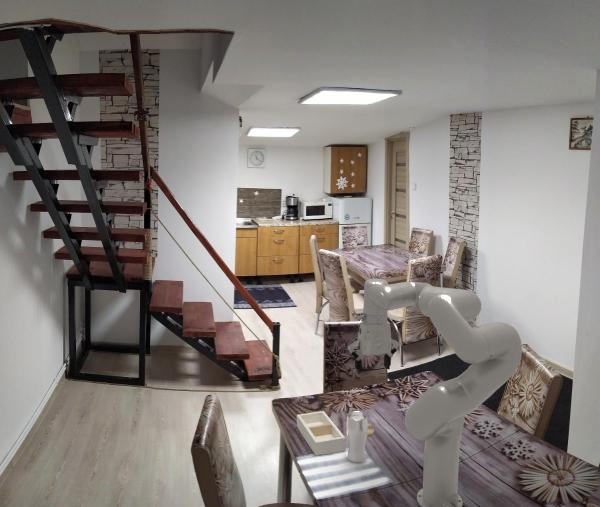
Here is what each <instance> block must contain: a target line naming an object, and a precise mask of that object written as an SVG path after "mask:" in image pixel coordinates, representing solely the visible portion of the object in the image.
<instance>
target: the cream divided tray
mask: <svg viewBox="0 0 600 507" xmlns="http://www.w3.org/2000/svg"><path fill="white" fill-rule="evenodd" d="M296 428H297V429H298V431H299V432H300V434H301V435H302V437H303V439H304V440H305V441H306V443H307V444H308V447H309V448H310V449H311V451H312V453H313V454H314V455H315V456H323V455H328V454H334V453H339V452H346V436H345V435H344V434H343V433H342V432H341V431H340V429H339V428H338V427H337V425H336V424H335V423H334V422H333V421H332V420H331V418H330V417H329V416H328V414H327V413H326V412H325V411H324V410H321V411H320V410H319V411H314V412H308V413H301V414H296Z"/></svg>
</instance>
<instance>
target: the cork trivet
mask: <svg viewBox="0 0 600 507" xmlns="http://www.w3.org/2000/svg"><path fill="white" fill-rule="evenodd" d="M374 433H375V427H374V425H373V424H371V423H370V422H368V432H367V437H370V436H372V435H373V434H374Z"/></svg>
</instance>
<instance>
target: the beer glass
mask: <svg viewBox="0 0 600 507" xmlns="http://www.w3.org/2000/svg"><path fill="white" fill-rule="evenodd" d="M368 423H369V422H368V414H367V413H366V412H365V411H364V412H363V411H362V410H361V411H359V410H353V411H349V412H348V413H347V414H346V424H345V425H346V426H345V429H346V430H345V431H346V432H345V433H346V440H347V444H348V450H347V457H346V459H347V460H348V461H349V462H350V463H354V464H360V463H363V462H365V461H366V460H367V457H366V456H367V455H366V452H365V451H366V449H365V448H366V442H367V438H368V436H367V432H368Z"/></svg>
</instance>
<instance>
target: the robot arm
mask: <svg viewBox="0 0 600 507" xmlns="http://www.w3.org/2000/svg"><path fill="white" fill-rule="evenodd" d="M406 307H407V308H408V307H418V308H419V311H420V313H421V314H422V315H424V316H425V317H428V318H429V320H430V322H431V323H432V324H433V326H434V328H435V329H436V330H437V332H438V333H439V335H441V337H442V338H443V340H444V342H446V343H447V344H448V346H449V348H451V350H452V351H453V352H454V354H455V355H456V356H457V357H458V358H459V359H460V360H462V362H464V363H467V364H470V365H469V366H468V367H467V369H465V370H464V371H463V372H462V373H461V374H460V375H459V376H457V377H454V378H451V379H448V380H444V381H442V382H439V383H436V384H434V385H432V386H431V387H429V388H428V389H426V391H424V392H422V394H421V395H420V396H419V397H418V398H417V399H416V400H415V401H414V402H413V403H412V404H411V405H410V406H409V407H408V409H407V411H406V413H405V416H404V426H405V428H406V431H407V433H408V434H409V435H410V436H411V437H412V438H413V439H416V440H418V441H420V442H421V441H422V442H423V441H424V448H423V449H424V450H423V471H422V472H423V474H422V477H423V478H422V488H420V489H419V491H418V492H417V493H416V502H417V503H418V505H419V506H420V507H463V503H464V502H463V499H462V497H461V496H460V495H459V494H458V485H459V484H458V483H459V469H460V468H459V464H460V448H461V446H460V445H461V438H462V432H463V429H464V425H465V419H466V418H465V417H466V415H469V414H471V413H473V412H474V411H475V410H477V408H479V407H480V405H482V404H483V403H484V402H486V401H487V400H488V399H489V398H490V397H492V396H493V394H494V393H495V392H497V391H498V390H499V389H500V388H501V387H502V386H503V385H504V384H505V383H506V382H507V381H509V379H510V378H511V377H512V376H513V375H514V374H515V372H516V371H517V369H518V368H519V365H520V363H521V359H522V354H523V344H522V340H521V336H520V334H519V332H518V331H517V329H516V328H515V327H514V326H512V325H511V324H509V323H505V322H499V321H498V322H497V321H496V322H494V321H493V322H489V323H486V324H485V323H484V324H480V325H477V326H473V327H472V326H471V324H469V322H472V321H473V320H475V319H476V318H477V317H478V316H479V314H480V313H481V311H482V302H481V299H480V298H479V296H478V295H477V294H476V293H474V292H473V291H471V290H467V289H463V288H462V289H461V288H460V289H459V288H451V287H443V286H434V285H431V284H430V283H429V282H418V281H404V282H398V283H397V282H396V283H391V284H389V283H388V281H387V280H386V279H382V278H377V277H375V278H374V277H373V278H368V279H366V280H365V282H364V287H363V312H362V314H361V315H359V316H358V319H359V321H360V320H361V321H360V325H359V329H358V334H357V340H356V341H354V342H352V343H350V344H349V345H348V346H347V349H348V352H349V353H350V355H351V356H352V357H354V368H355V370H357V372H358V373H362V368H363V360H362V359H363V357H364V356H375V355H377V356H378V355H383V367H384V368H385V369H386V370H390V369H391V364H392V358H393V356H394V354H395V353H396V352H397V350H398V348H399V346H400V343H399V341H397V340H395V339H392V333H391V332H392V331H391V330H392V329H391V325H390V321H388V312H389V311H392V310H393V311H395V310H398V309H404V308H406ZM355 348H357V351H356V352H355Z"/></svg>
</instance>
